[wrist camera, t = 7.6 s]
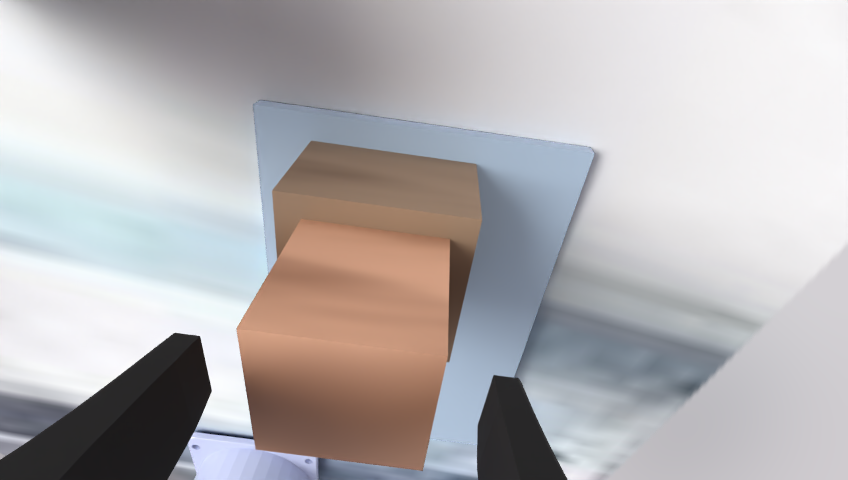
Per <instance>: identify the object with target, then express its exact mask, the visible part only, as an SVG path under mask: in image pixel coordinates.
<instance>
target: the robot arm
mask: <svg viewBox="0 0 848 480" xmlns="http://www.w3.org/2000/svg"><path fill="white" fill-rule="evenodd" d="M211 391H212V390H211V385H210V380H209V376H208V371H207V367H206V362H205V357H204V353H203V348H202V343H201V339H200V336H195V335H187V334H180V333H174V334H173V335H171V336H170V337H169V338H167V339H166V340H165V341H163V342H162V343H161V344H159V345H158V346H157V347H155V348H154V349H153V350H152V351H150V352H149V353H148V354H146V355H145V356H144V357H143V358H141V359H140V360H139V361H138V362H136V363H135V364H134V365H132V366H131V367H130V368H128V369H127V370H126V371H125V372H123V373H122V374H121V375H119V376H118V377H117V378H116V379H114V380H113V381H112V382H110V383H109V384H108V385H106V386H105V387H104V388H102V389H101V390H100V391H98V392H97V393H96V394H94V395H93V396H92V397H90V398H89V399H87V400H86V401H85V402H83V403H82V404H81V405H79V406H78V407H77V408H75V409H74V410H73V411H71V412H70V413H68V414H67V415H65V416H64V417H63V418H61V419H60V420H58V421H57V422H55V423H54V424H53V425H51V426H50V427H48V428H47V429H45V430H44V431H43V432H41V433H40V434H38V435H37V436H35V437H34V438H33V439H31V440H30V441H28V442H27V443H25V444H24V445H22V446H21V447H19V448H18V449H16V450H15V451H13V452H12V453H10V454H8V455H7V456H5V457H4V458H2V459H1V460H0V480H167V479H168V477H169V476H170V474H171V472H172V470H173V469H174V467H175V465H176V463H177V462H178V460H179V458H180V456H181V455H182V453H183V451H184V449H185V448H186V446H187V444H188V446H189V449H190V453H191V456H192V459H193V463H194V466H195V469H196V473H197V475H196V477H195V479H194V480H319V476H318V457H310V456H302V455H294V454H286V453H278V452H270V451H263V450H256V449H255V443H254V440H253V439H245V438H237V437H230V436H222V435H214V434H206V433H199V432H194V431H195V429H196V427H197V425H198V422H199V420H200V418H201V416H202V413H203V411H204V408H205V406H206V404H207V401H208V399H209V396H210V394H211ZM477 471H478V480H567V478H566V476H565V474H564V472H563V470H562V468H561V466H560V464H559V462H558V461H557V459H556V457H555V455H554V453H553V451H552V449H551V447H550V445H549V443H548V441H547V439H546V437H545V435H544V433H543V431H542V428H541V426H540V424H539V422H538V420H537V418H536V415H535V413H534V411H533V409H532V407H531V404H530V402H529V400H528V397H527V395H526V392H525V390H524V388H523V385H522V383H521V381H520V380H519V379H518V378H513V377H505V376H498V375H493V378H492V381H491V385H490V388H489V391H488V394H487V397H486V400H485V403H484V407H483V410H482V413H481V416H480V419H479V422H478V427H477Z"/></svg>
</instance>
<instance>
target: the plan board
mask: <svg viewBox="0 0 848 480" xmlns="http://www.w3.org/2000/svg"><path fill="white" fill-rule="evenodd" d="M253 110H254V121H255V132H256V143H257V154H258V166H259V177H260V188H261V199H262V210H263V221H264V233H265V244H266V255H267V266H268V274H269V272H270V271H271V269H272V267H273V266H274V264H275V262H276V261H277V252H276V238H275V224H274V211H273V197H272V190H273V189H274V187H275V186H276V185H277V183H278V182H279V181H280V180H281V178H282V177H283V176H284V175H285V173H286V172H287V171H288V169H289V168H290V167H291V166H292V164H293V163H294V162H295V161H296V159H297V158H298V157H299V155H300V154H301V153H302V152H303V150H304V149H305V148H306V147H307V145H308V144H309V143H310V141H318V142H325V143H332V144H339V145H346V146H353V147H360V148H367V149H374V150H381V151H388V152H395V153H403V154H410V155H417V156H424V157H431V158H438V159H445V160H452V161H459V162H466V163H473V164H477V174H478V183H479V193H480V203H481V213H482V223H481V227H480V232H479V236H478V240H477V245H476V249H475V253H474V258H473V262H472V266H471V271H470V275H469V279H468V284H467V288H466V292H465V297H464V301H463V305H462V310H461V314H460V318H459V323H458V327H457V331H456V336H455V340H454V344H453V349H452V353H451V357H450V362H447V363H446V367H445V372H444V376H443V381H442V385H441V390H440V394H439V399H438V403H437V408H436V412H435V417H434V421H433V426H432V430H431V435H430V439H434V440H442V441H450V442H457V443H465V444H473V445H477V427H478V422H479V419H480V416H481V413H482V410H483V407H484V403H485V400H486V397H487V394H488V391H489V388H490V385H491V381H492V378H493V375H498V376H505V377H513V378H514V376H515V373H516V370H517V368H518V365H519V362H520V359H521V357H522V354H523V351H524V348H525V346H526V343H527V340H528V337H529V334H530V332H531V329H532V326H533V323H534V321H535V318H536V315H537V312H538V310H539V307H540V304H541V301H542V298H543V296H544V293H545V290H546V287H547V285H548V282H549V279H550V276H551V273H552V271H553V268H554V265H555V262H556V260H557V257H558V254H559V251H560V249H561V246H562V243H563V240H564V237H565V235H566V232H567V229H568V226H569V224H570V221H571V218H572V215H573V213H574V210H575V207H576V204H577V201H578V199H579V196H580V193H581V190H582V188H583V185H584V182H585V179H586V176H587V174H588V171H589V168H590V165H591V163H592V160H593V157H594V154H595V153H594V152H593V150H592V149H591V148H590V147H584V146H577V145H570V144H563V143H556V142H549V141H542V140H535V139H528V138H521V137H514V136H508V135H501V134H494V133H487V132H480V131H473V130H466V129H459V128H452V127H445V126H438V125H431V124H424V123H417V122H410V121H403V120H396V119H389V118H382V117H375V116H368V115H361V114H354V113H347V112H340V111H333V110H326V109H319V108H312V107H305V106H298V105H291V104H284V103H277V102H270V101H263V100H259V101H258V102H256V103H255V104H253Z"/></svg>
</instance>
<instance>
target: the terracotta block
mask: <svg viewBox="0 0 848 480" xmlns="http://www.w3.org/2000/svg"><path fill="white" fill-rule="evenodd" d="M449 267H450V239H446V238H439V237H431V236H424V235H417V234H409V233H402V232H395V231H387V230H380V229H372V228H365V227H358V226H350V225H343V224H336V223H328V222H321V221H313V220H306V219H301V220H300V221H299V223H298V225H297V227H296V228H295V230H294V232H293V233H292V235H291V237H290V238H289V240H288V242H287V244H286V245H285V247H284V249H283V250H282V252H281V254H280V255H279V257H278V259H277V261H276V262H275V264H274V266H273V267H272V269H271V271H270V272H269V274H268V276H267V277H266V279H265V281H264V283H263V284H262V286H261V288H260V289H259V291H258V293H257V294H256V296H255V298H254V300H253V301H252V303H251V305H250V306H249V308H248V310H247V311H246V313H245V315H244V317H243V318H242V320H241V322H240V323H239V325H238V327H237V328H236V329H237V335H238V341H239V348H240V354H241V360H242V367H243V373H244V379H245V386H246V392H247V398H248V405H249V411H250V418H251V424H252V430H253V437H254V443H255V449H256V450H263V451H270V452H278V453H286V454H294V455H302V456H310V457H318V458H326V459H334V460H342V461H349V462H357V463H365V464H373V465H381V466H389V467H397V468H405V469H413V470H420V471H423V467H424V462H425V458H426V453H427V449H428V444H429V439H430V435H431V430H432V426H433V421H434V417H435V412H436V408H437V403H438V399H439V394H440V390H441V385H442V381H443V376H444V372H445V367H446V363H447V358H448V322H449Z"/></svg>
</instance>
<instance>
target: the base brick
mask: <svg viewBox="0 0 848 480" xmlns="http://www.w3.org/2000/svg"><path fill="white" fill-rule="evenodd" d="M272 197H273V211H274V224H275V238H276V252H277V259H278V257H279V255H280V254H281V252H282V250H283V249H284V247H285V245H286V244H287V242H288V240H289V238H290V237H291V235H292V233H293V232H294V230H295V228H296V227H297V225H298V223H299V221H300V220H301V219H306V220H313V221H321V222H328V223H336V224H343V225H350V226H358V227H365V228H372V229H380V230H387V231H395V232H402V233H409V234H417V235H424V236H431V237H439V238H446V239H450V267H449V322H448V358H447V362H450V357H451V353H452V349H453V344H454V340H455V336H456V331H457V327H458V323H459V318H460V314H461V310H462V305H463V301H464V297H465V292H466V288H467V284H468V279H469V275H470V271H471V266H472V262H473V258H474V253H475V249H476V245H477V240H478V236H479V232H480V227H481V223H482V213H481V203H480V193H479V183H478V174H477V164H473V163H466V162H459V161H452V160H445V159H438V158H431V157H424V156H417V155H410V154H403V153H395V152H388V151H381V150H374V149H367V148H360V147H353V146H346V145H339V144H332V143H325V142H318V141H310V143H309V144H308V145H307V147H306V148H305V149H304V150H303V152H302V153H301V154H300V155H299V157H298V158H297V159H296V161H295V162H294V163H293V164H292V166H291V167H290V168H289V169H288V171H287V172H286V173H285V175H284V176H283V177H282V178H281V180H280V181H279V182H278V183H277V185H276V186H275V187H274V189H273V190H272Z"/></svg>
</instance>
